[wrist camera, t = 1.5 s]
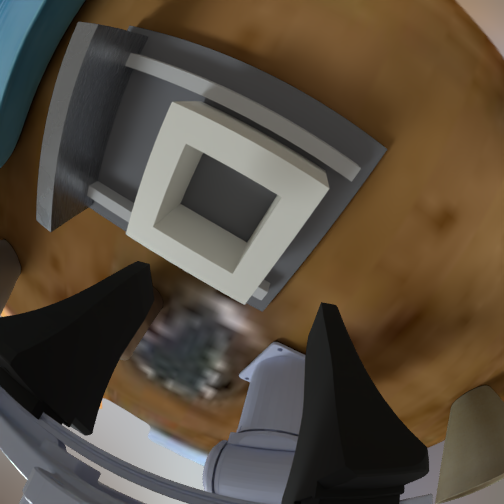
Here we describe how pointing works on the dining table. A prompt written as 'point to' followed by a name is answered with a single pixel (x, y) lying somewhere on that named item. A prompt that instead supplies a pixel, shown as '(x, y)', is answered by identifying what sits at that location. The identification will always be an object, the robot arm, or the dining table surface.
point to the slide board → (213, 171)
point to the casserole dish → (26, 57)
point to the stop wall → (82, 118)
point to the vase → (7, 272)
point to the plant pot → (472, 445)
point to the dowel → (144, 325)
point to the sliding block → (204, 231)
